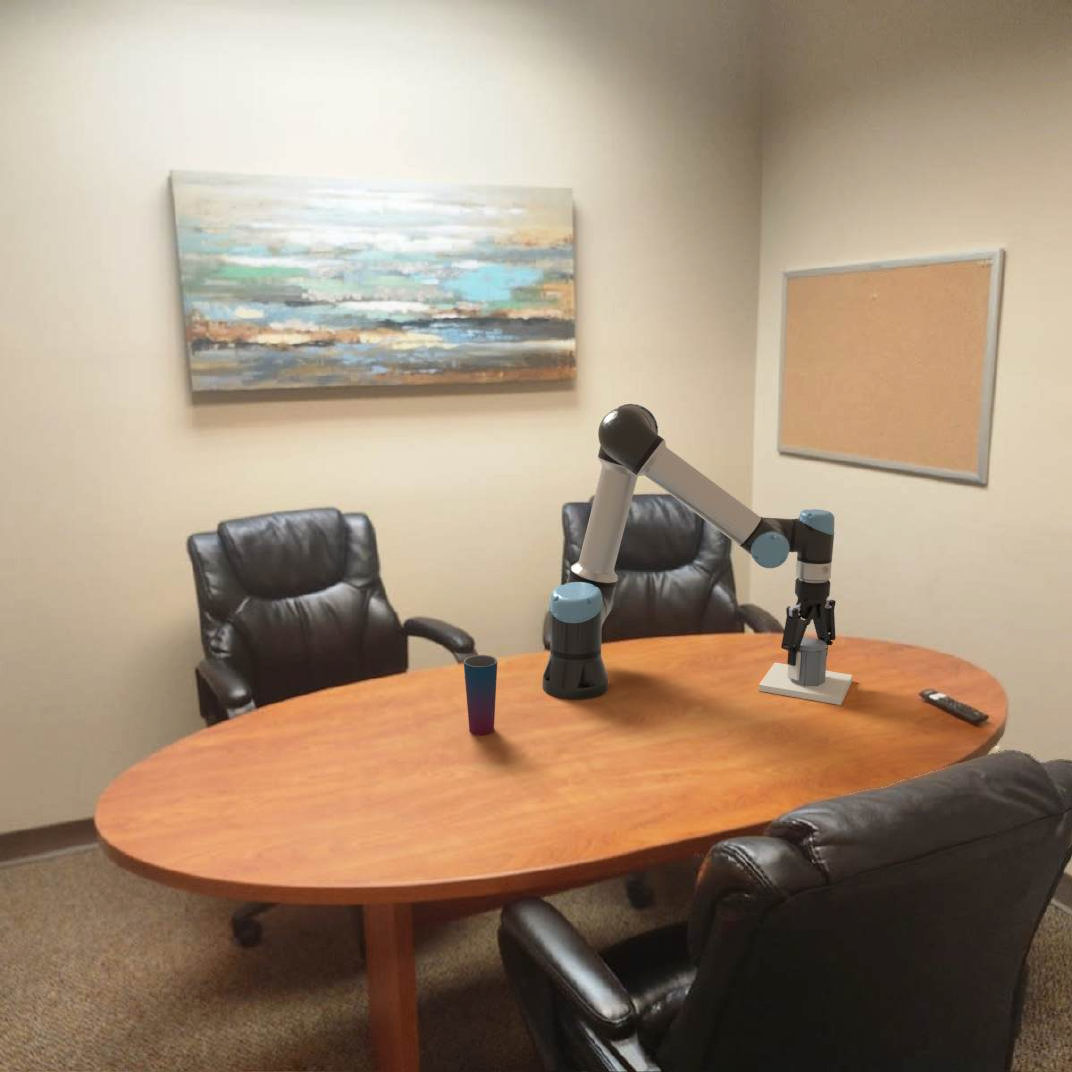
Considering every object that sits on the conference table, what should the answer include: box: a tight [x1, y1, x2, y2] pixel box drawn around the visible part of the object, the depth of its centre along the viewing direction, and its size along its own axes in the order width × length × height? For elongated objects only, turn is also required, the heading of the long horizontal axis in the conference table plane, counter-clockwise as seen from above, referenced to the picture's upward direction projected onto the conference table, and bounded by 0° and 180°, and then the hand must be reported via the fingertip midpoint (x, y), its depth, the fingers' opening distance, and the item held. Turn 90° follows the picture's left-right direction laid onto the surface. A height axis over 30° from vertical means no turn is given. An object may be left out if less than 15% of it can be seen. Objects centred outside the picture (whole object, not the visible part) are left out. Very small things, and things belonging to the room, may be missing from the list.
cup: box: [463, 654, 498, 736], centre depth 179 cm, size 7×7×15 cm
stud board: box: [758, 662, 853, 706], centre depth 203 cm, size 18×16×8 cm
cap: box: [788, 636, 828, 686], centre depth 203 cm, size 8×8×9 cm
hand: (806, 674), depth 203 cm, fingers closed on cap, 8 cm apart
